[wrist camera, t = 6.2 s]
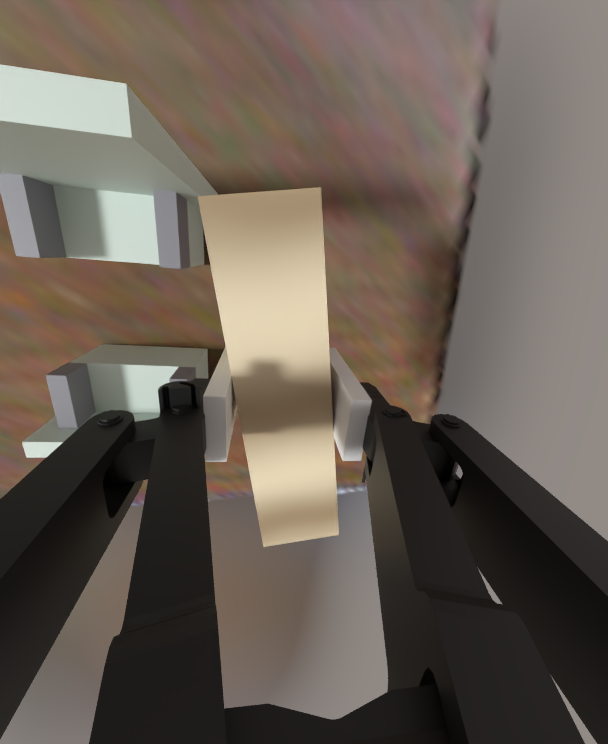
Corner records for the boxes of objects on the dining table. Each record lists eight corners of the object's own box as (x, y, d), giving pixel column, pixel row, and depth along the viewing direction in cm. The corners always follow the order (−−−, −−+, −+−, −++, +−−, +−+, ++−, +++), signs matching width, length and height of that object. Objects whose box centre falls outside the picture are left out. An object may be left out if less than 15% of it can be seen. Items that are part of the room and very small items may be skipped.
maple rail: (222, 216, 15) (197, 196, 10) (301, 210, 15) (320, 187, 10) (264, 469, 21) (263, 546, 16) (320, 461, 21) (338, 534, 16)
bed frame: (56, 176, 27) (-421, -1, 8) (218, 194, 29) (126, 83, 10) (97, 397, 35) (-99, 563, 16) (221, 400, 36) (174, 551, 18)
